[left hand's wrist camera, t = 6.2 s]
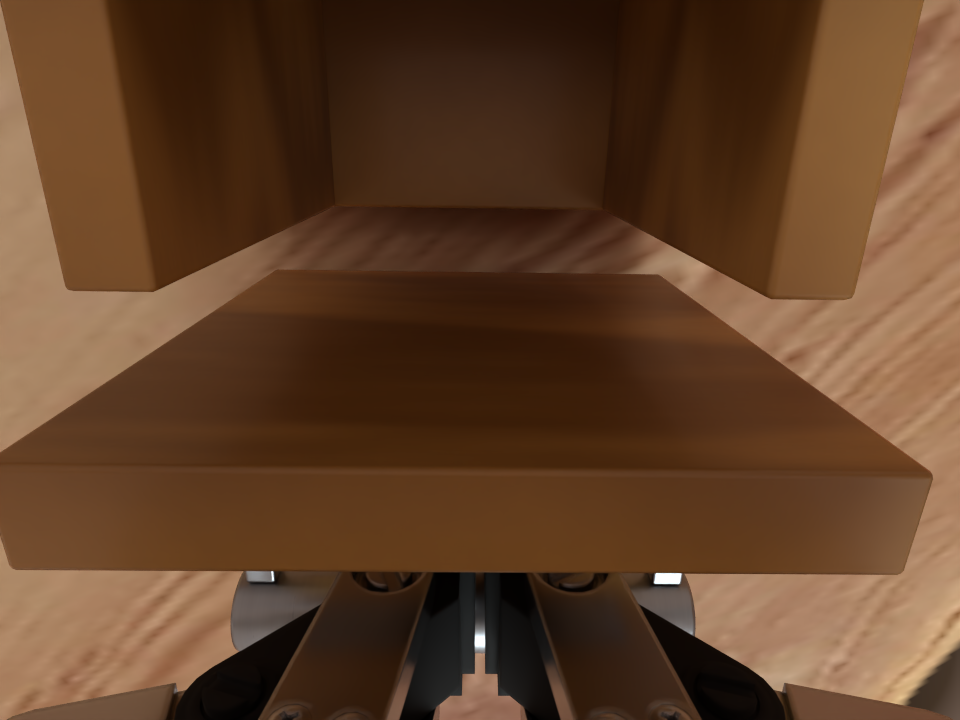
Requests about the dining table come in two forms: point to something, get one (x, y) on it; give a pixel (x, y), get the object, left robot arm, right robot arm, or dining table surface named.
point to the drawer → (460, 292)
